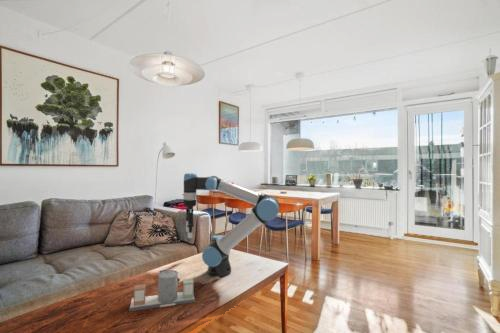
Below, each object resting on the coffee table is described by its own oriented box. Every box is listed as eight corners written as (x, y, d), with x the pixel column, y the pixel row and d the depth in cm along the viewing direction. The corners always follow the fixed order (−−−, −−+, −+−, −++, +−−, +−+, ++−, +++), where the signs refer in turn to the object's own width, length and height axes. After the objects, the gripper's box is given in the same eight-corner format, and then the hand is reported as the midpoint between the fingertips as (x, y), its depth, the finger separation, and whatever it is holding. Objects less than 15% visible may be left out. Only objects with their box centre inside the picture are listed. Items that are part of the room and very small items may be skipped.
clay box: (145, 300, 129) (145, 284, 129) (144, 304, 126) (145, 288, 125) (134, 301, 128) (134, 285, 128) (133, 305, 124) (133, 289, 124)
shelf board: (192, 292, 140) (192, 288, 140) (195, 304, 129) (195, 299, 129) (132, 300, 131) (132, 295, 131) (128, 314, 120) (128, 308, 119)
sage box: (192, 293, 137) (192, 278, 136) (193, 297, 133) (193, 282, 132) (182, 295, 135) (183, 279, 135) (183, 299, 131) (183, 283, 131)
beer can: (180, 294, 136) (181, 271, 135) (171, 304, 126) (172, 279, 126) (164, 292, 137) (164, 269, 137) (153, 301, 128) (154, 277, 128)
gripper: (182, 196, 166) (181, 229, 167) (184, 202, 142) (184, 241, 143) (194, 196, 168) (193, 228, 169) (198, 202, 145) (197, 240, 145)
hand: (189, 234), depth 156 cm, fingers open, 13 cm apart
